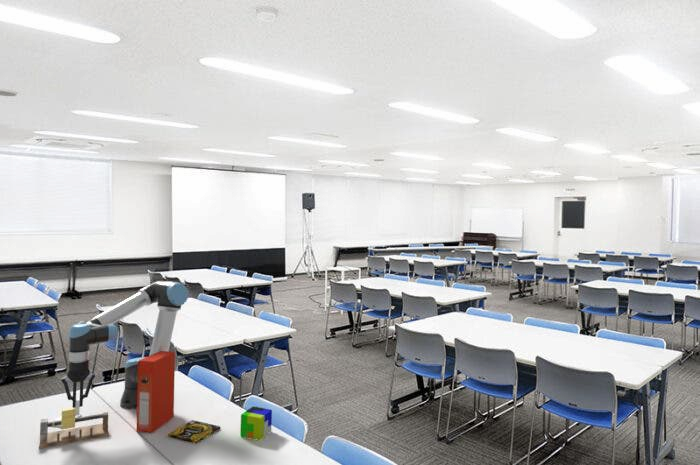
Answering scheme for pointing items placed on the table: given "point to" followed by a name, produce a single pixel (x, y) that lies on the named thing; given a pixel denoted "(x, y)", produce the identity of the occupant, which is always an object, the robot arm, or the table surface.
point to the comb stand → (72, 431)
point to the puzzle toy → (256, 423)
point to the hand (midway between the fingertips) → (77, 414)
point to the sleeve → (68, 418)
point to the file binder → (155, 391)
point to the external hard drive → (61, 418)
